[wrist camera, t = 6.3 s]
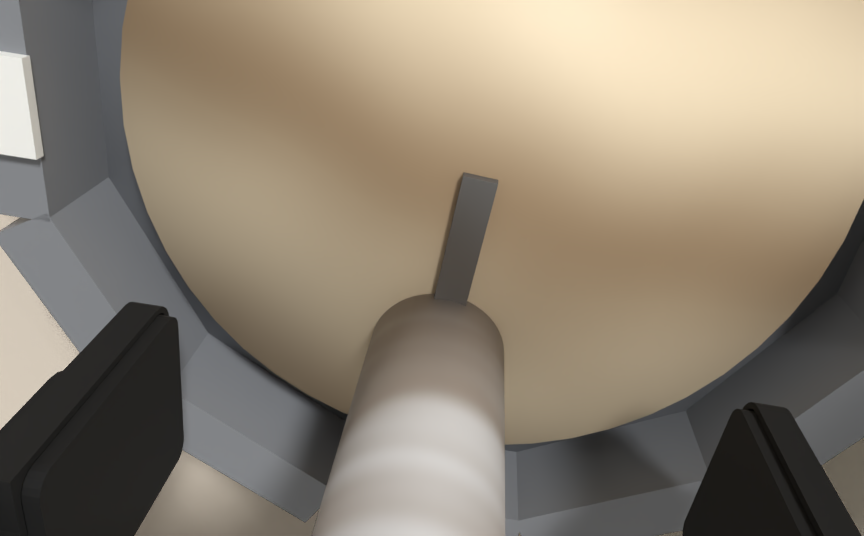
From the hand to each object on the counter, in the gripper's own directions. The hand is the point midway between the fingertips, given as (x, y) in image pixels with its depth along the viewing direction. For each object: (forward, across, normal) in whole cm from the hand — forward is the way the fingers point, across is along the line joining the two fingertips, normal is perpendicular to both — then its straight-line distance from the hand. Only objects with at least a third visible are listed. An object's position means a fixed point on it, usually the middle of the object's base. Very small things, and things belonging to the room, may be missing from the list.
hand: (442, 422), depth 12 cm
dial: (+3, 0, -4) cm, 5 cm away
